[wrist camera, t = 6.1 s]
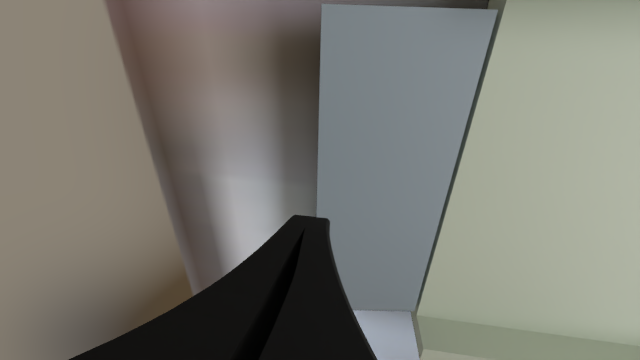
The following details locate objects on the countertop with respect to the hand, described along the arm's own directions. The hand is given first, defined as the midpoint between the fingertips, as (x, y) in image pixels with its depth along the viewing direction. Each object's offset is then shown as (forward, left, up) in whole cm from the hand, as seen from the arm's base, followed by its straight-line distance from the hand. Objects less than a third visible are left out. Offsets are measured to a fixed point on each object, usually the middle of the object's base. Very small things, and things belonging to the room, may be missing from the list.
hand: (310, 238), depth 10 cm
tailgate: (0, -6, -4) cm, 7 cm away
